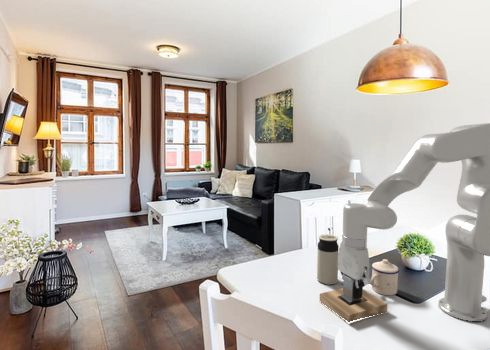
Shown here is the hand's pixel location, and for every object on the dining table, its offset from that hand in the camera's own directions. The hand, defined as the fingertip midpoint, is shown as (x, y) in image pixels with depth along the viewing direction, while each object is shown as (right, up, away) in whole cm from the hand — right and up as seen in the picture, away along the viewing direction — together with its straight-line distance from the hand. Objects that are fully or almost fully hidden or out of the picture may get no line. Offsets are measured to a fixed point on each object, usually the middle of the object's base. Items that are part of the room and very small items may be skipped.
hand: (352, 294), depth 96 cm
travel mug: (-3, -3, +20) cm, 20 cm away
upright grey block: (0, -2, 0) cm, 2 cm away
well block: (0, -5, 0) cm, 5 cm away
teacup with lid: (+15, -4, +11) cm, 19 cm away
